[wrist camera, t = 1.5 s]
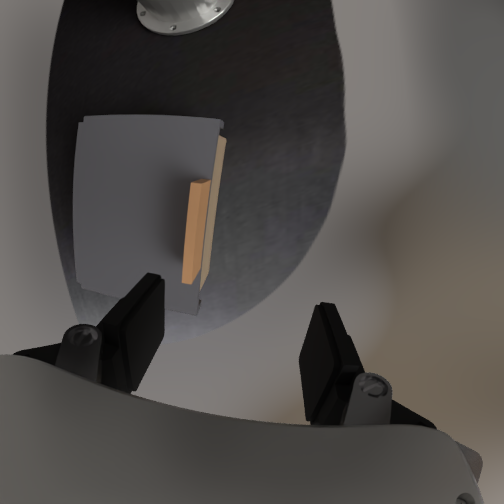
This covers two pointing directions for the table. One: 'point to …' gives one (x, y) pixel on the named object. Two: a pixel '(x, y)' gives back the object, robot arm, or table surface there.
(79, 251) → the lid
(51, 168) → the table surface
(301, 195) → the table surface
